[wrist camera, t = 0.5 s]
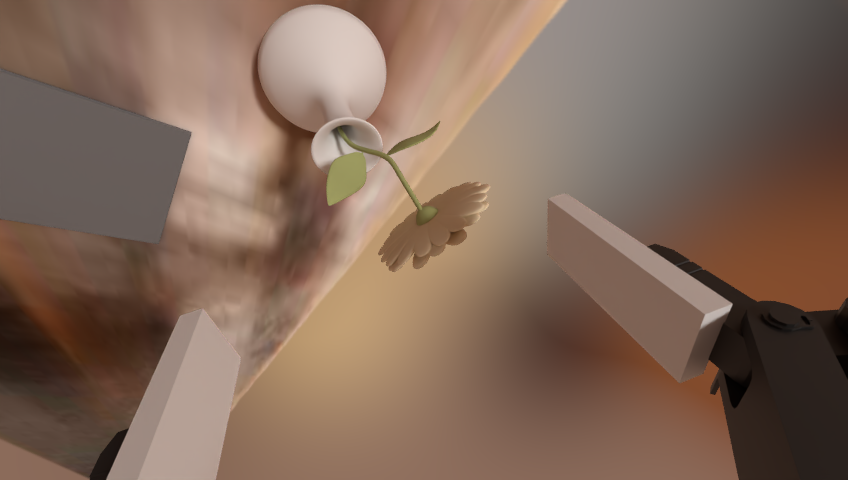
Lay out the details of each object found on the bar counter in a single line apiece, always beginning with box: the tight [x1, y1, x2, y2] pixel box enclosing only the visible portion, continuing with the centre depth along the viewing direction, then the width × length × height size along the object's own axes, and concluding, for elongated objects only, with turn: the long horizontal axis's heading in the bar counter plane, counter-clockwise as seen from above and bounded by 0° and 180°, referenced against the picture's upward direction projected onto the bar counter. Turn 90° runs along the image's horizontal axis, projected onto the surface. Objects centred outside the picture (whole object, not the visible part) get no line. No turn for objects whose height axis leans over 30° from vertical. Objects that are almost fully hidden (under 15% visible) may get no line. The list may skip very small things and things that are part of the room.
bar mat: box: [0, 69, 191, 244], centre depth 33 cm, size 16×14×1 cm
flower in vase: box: [258, 5, 490, 272], centre depth 26 cm, size 13×11×25 cm
